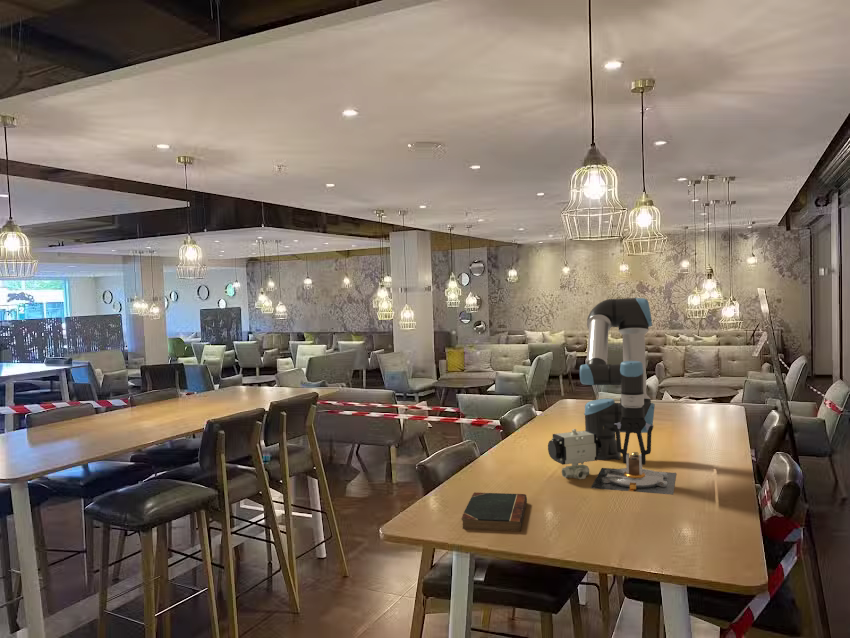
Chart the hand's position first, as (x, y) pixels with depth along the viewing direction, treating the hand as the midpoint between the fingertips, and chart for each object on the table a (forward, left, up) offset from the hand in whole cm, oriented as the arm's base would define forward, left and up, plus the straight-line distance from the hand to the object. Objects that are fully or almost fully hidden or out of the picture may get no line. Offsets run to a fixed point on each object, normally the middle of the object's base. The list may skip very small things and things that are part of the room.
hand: (634, 473), depth 222 cm
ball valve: (-20, 0, -4) cm, 20 cm away
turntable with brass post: (0, 0, -3) cm, 3 cm away
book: (-36, -45, -4) cm, 58 cm away
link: (0, +3, 0) cm, 3 cm away
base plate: (0, 0, -4) cm, 4 cm away
